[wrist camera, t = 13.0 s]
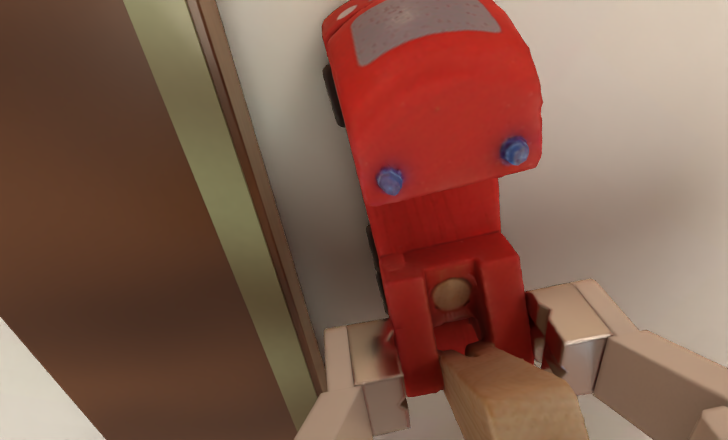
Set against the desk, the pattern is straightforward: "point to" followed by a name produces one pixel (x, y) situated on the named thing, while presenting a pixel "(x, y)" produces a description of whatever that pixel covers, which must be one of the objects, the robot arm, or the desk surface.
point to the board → (146, 225)
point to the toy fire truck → (448, 201)
